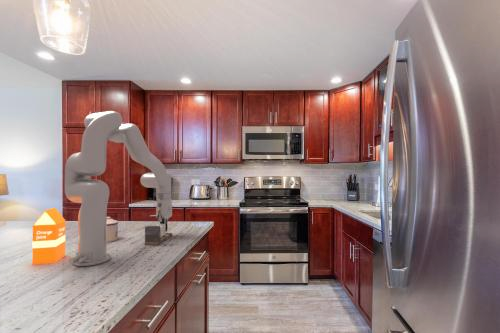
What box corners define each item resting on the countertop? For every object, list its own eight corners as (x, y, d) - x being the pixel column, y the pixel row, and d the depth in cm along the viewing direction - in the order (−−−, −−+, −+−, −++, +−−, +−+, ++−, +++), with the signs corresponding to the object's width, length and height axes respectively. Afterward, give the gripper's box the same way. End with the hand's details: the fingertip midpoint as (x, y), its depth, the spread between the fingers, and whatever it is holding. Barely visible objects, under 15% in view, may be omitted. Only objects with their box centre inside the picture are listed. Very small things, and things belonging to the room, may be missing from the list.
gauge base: (157, 245, 122) (157, 227, 122) (144, 245, 122) (145, 227, 122) (172, 235, 140) (172, 219, 140) (161, 235, 140) (161, 219, 140)
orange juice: (31, 264, 98) (32, 211, 98) (43, 256, 106) (44, 207, 106) (56, 262, 100) (56, 210, 100) (65, 255, 108) (66, 207, 109)
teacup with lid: (120, 240, 131) (120, 217, 131) (99, 243, 125) (100, 219, 125) (114, 235, 140) (114, 214, 140) (94, 238, 134) (95, 216, 134)
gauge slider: (161, 238, 126) (161, 226, 127) (150, 238, 127) (150, 226, 127) (166, 235, 132) (166, 223, 133) (156, 235, 133) (156, 223, 133)
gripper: (164, 198, 129) (164, 235, 128) (176, 195, 144) (176, 228, 143) (150, 197, 129) (150, 234, 129) (163, 195, 144) (162, 228, 144)
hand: (163, 231), depth 136 cm, fingers closed
